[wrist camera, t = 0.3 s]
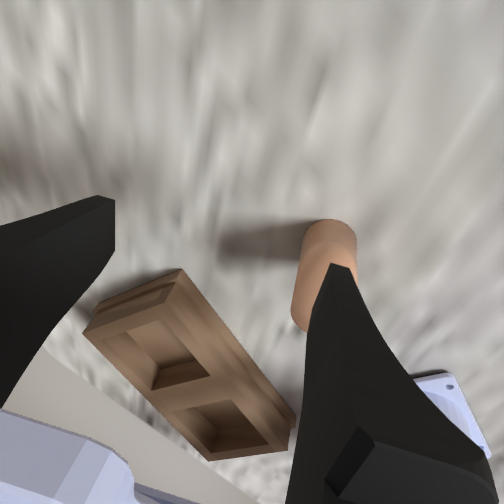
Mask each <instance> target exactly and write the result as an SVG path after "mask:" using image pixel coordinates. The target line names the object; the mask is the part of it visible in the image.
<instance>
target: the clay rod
mask: <svg viewBox="0 0 504 504" xmlns="http://www.w3.org/2000/svg"><path fill="white" fill-rule="evenodd" d="M330 262H331V263H334V264H338V265H341V266H345V267H348V268H350V270H351V272H352V275H353V277H354V280H355V282H356V284H357V287H358V283H357V239H356V235H355V233H354V231H353V230H352V229H351V228H350V227H349V226H348V225H347V224H345V223H343V222H341V221H338V220H333V219H327V220H321V221H318V222H316V223H314V224H312V225H311V226H310V227H309V228H308V229H307V231H306V232H305V235H304V238H303V244H302V249H301V255H300V260H299V266H298V271H297V277H296V282H295V287H294V293H293V298H292V304H291V316H292V319H293V320H294V322H295V323H296V325H297V326H298V327H299V328H301V329H302V330H303V331H305V332H308V327H309V321H310V316H311V311H312V307H313V305H314V302H315V300H316V297H317V295H318V292H319V290H320V287H321V285H322V282H323V280H324V277H325V275H326V272H327V270H328V267H329V265H330Z"/></svg>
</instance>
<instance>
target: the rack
mask: <svg viewBox="0 0 504 504" xmlns="http://www.w3.org/2000/svg"><path fill="white" fill-rule="evenodd" d="M93 313H94V314H95V317H94V318H93V319H92V321H91V322H90V323H89V325H88V326H87V327H86V329H85V330H84V331H83V333H82V334H83V335H84V336H85V337H86V338H87V339H88V340H89V341H90V342H91V343H92V344H93V345H94V346H95V347H96V348H97V349H98V350H99V351H100V352H101V353H102V354H103V355H104V356H105V357H106V358H107V359H108V360H109V361H110V362H111V363H112V364H113V365H114V366H115V368H116V369H117V370H118V371H119V372H120V373H121V374H122V375H123V376H124V377H125V378H126V379H127V380H128V381H129V382H130V383H131V384H132V385H133V386H134V387H135V388H136V389H137V390H138V391H139V392H140V393H141V394H142V395H143V396H144V397H145V398H146V399H147V400H148V401H149V402H150V403H151V404H152V405H153V406H154V407H155V408H156V409H157V410H158V411H159V412H160V413H161V414H162V415H163V416H164V417H165V418H166V419H167V420H168V421H169V422H170V423H171V424H172V425H173V426H174V427H175V428H176V429H177V430H178V431H179V432H180V433H181V434H182V435H183V437H184V438H185V439H186V440H187V441H188V442H189V443H190V444H191V445H192V446H193V447H194V448H195V449H196V450H197V451H198V452H199V453H200V454H201V455H202V456H203V457H204V458H205V459H206V460H207V461H216V460H223V459H230V458H237V457H245V456H252V455H259V454H266V453H274V452H281V451H287V450H288V443H289V436H290V429H292V428H295V424H296V416H295V414H294V413H293V412H292V410H291V409H290V408H289V407H288V405H287V404H286V403H285V401H284V400H283V399H282V397H281V396H280V395H279V394H278V392H277V391H276V390H275V388H274V387H273V386H272V384H271V383H270V382H269V381H268V379H267V378H266V377H265V375H264V374H263V373H262V372H261V370H260V369H259V368H258V366H257V365H256V364H255V362H254V361H253V360H252V359H251V357H250V356H249V355H248V353H247V352H246V351H245V349H244V348H243V347H242V346H241V344H240V343H239V342H238V340H237V339H236V338H235V337H234V335H233V334H232V333H231V331H230V330H229V329H228V327H227V326H226V325H225V324H224V322H223V321H222V320H221V318H220V317H219V316H218V314H217V313H216V312H215V311H214V309H213V308H212V307H211V305H210V304H209V303H208V302H207V300H206V299H205V298H204V296H203V295H202V294H201V292H200V291H199V290H198V289H197V287H196V286H195V285H194V283H193V282H192V281H191V280H190V278H189V277H188V276H187V274H186V273H185V272H184V270H183V269H180V270H178V271H175V272H173V273H171V274H168V275H166V276H163V277H161V278H158V279H156V280H153V281H151V282H149V283H146V284H144V285H141V286H139V287H136V288H134V289H132V290H129V291H127V292H124V293H122V294H119V295H117V296H115V297H112V298H110V299H107V300H105V301H102V302H100V303H99V304H98V305H97V306H96V308H95V309H94V310H93Z"/></svg>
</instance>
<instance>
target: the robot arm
mask: <svg viewBox="0 0 504 504" xmlns="http://www.w3.org/2000/svg"><path fill="white" fill-rule="evenodd" d="M114 251H115V200H113V199H109V198H106V197H103V196H99V195H96V196H92V197H89V198H85V199H82V200H79V201H76V202H74V203H71V204H68V205H65V206H62V207H59V208H56V209H53V210H50V211H47V212H45V213H42V214H39V215H35V216H32V217H29V218H25V219H22V220H19V221H15V222H12V223H9V224H5V225H1V226H0V504H199V503H196V502H193V501H190V500H187V499H184V498H181V497H177V496H175V495H172V494H168V493H165V492H162V491H159V490H156V489H153V488H150V487H147V486H144V485H141V484H138V483H135V482H134V478H133V475H132V472H131V470H130V467H129V465H128V462H127V461H126V460H125V459H124V458H123V457H121V455H119V454H118V453H117V452H116V451H115V450H114V449H112V448H111V447H109V446H107V445H105V444H102V443H100V442H98V441H96V440H94V439H92V438H90V437H87V436H83V435H80V434H77V433H74V432H71V431H68V430H65V429H62V428H59V427H56V426H52V425H49V424H46V423H43V422H40V421H37V420H34V419H31V418H27V417H24V416H22V415H18V414H15V413H12V412H9V411H6V410H3V409H1V408H2V407H3V405H4V403H5V402H6V400H7V398H8V397H9V395H10V394H11V392H12V390H13V388H14V387H15V385H16V383H17V382H18V380H19V379H20V377H21V376H22V374H23V373H24V371H25V370H26V368H27V366H28V365H29V363H30V362H31V360H32V359H33V357H34V356H35V354H36V353H37V351H38V350H39V348H40V347H41V346H42V344H43V343H44V341H45V340H46V338H47V337H48V335H49V334H50V333H51V331H52V330H53V329H54V327H55V326H56V325H57V324H58V322H59V321H60V320H61V319H62V318H63V316H64V315H65V314H66V313H67V312H68V311H69V310H70V308H71V307H72V306H73V305H74V304H75V303H76V302H77V300H78V299H79V298H80V297H81V296H82V295H83V293H84V292H85V291H86V290H87V289H88V288H89V287H90V285H91V284H92V283H93V282H94V281H95V279H96V278H97V277H98V276H99V275H100V273H101V272H102V270H103V269H104V267H105V266H106V264H107V263H108V261H109V259H110V258H111V256H112V254H113V253H114ZM450 384H451V385H450ZM490 457H491V452H490V449H489V447H488V445H487V443H486V441H485V439H484V437H483V435H482V433H481V431H480V429H479V426H478V424H477V422H476V420H475V418H474V416H473V414H472V412H471V410H470V408H469V406H468V404H467V402H466V400H465V398H464V396H463V394H462V391H461V389H460V387H459V385H458V383H457V381H456V379H455V377H454V376H453V375H452V374H450V373H441V374H436V375H431V376H426V377H421V378H416V379H412V378H411V377H410V375H409V374H408V373H407V372H406V370H405V369H404V368H403V367H402V365H401V364H400V363H399V361H398V360H397V358H396V357H395V355H394V354H393V352H392V351H391V350H390V348H389V347H388V345H387V344H386V342H385V340H384V339H383V337H382V335H381V334H380V332H379V330H378V328H377V327H376V325H375V323H374V321H373V319H372V317H371V315H370V313H369V311H368V309H367V307H366V305H365V303H364V301H363V298H362V296H361V294H360V292H359V289H358V287H357V284H356V282H355V280H354V277H353V275H352V272H351V270H350V268H348V267H345V266H341V265H338V264H334V263H331V262H330V265H329V267H328V270H327V272H326V275H325V277H324V280H323V282H322V285H321V287H320V290H319V292H318V295H317V297H316V300H315V302H314V305H313V307H312V311H311V316H310V321H309V327H308V332H307V341H306V357H305V374H304V391H303V403H302V411H301V418H300V424H299V430H298V436H297V441H296V447H295V453H294V458H293V464H292V470H291V475H290V480H289V486H288V491H287V496H286V501H285V504H498V503H499V499H498V495H497V492H496V488H495V484H494V480H493V476H492V472H491V469H490V466H489V463H488V461H487V459H489V458H490Z"/></svg>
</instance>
